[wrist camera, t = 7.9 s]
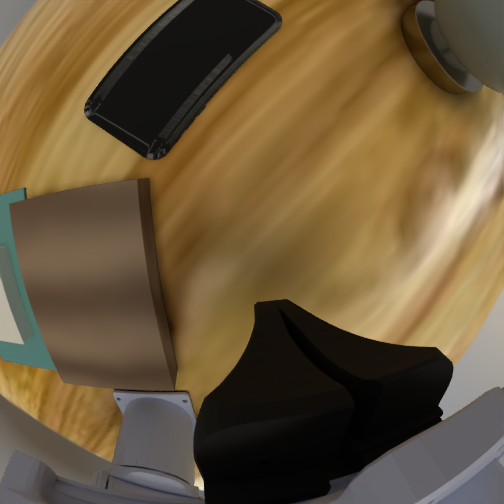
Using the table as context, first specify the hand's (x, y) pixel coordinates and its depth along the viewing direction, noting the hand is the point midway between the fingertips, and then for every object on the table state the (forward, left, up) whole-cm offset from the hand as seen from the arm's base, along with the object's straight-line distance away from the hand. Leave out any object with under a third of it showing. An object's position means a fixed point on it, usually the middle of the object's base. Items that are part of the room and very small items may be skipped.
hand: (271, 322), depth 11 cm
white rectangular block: (-2, +24, -8) cm, 26 cm away
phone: (+15, +4, -10) cm, 18 cm away
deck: (-2, +12, -9) cm, 15 cm away
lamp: (+21, -21, -10) cm, 31 cm away
